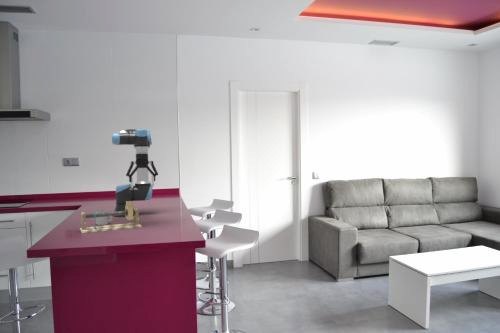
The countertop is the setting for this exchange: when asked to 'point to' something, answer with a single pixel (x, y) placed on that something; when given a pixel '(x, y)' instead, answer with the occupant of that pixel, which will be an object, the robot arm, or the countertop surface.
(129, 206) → the collar
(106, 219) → the cup
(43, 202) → the countertop surface
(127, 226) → the rail
